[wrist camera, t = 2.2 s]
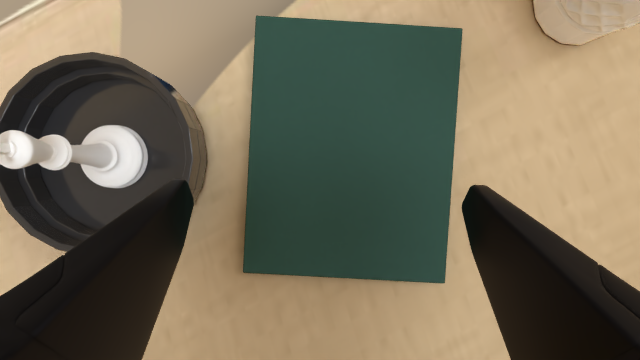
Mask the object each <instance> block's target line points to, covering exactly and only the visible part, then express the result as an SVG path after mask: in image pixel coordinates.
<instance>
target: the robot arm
mask: <svg viewBox="0 0 640 360" xmlns="http://www.w3.org/2000/svg"><path fill="white" fill-rule="evenodd" d="M193 204H194V199H193V196H192V193H191V190H190V187H189V184H188V182H187V181H186V180H185V179H172V180H170V181H168V182H167V183H166V184H164V185H163V186H161V187H160V188H158V189H157V190H155V191H154V192H153V193H151V194H150V195H148V196H147V197H145V198H144V199H143V200H141V201H140V202H138V203H137V204H135V205H134V206H133V207H131V208H130V209H128V210H127V211H125V212H124V213H122V214H121V215H120V216H118V217H117V218H115V219H114V220H112V221H111V222H110V223H108V224H107V225H105V226H104V227H102V228H101V229H99V230H98V231H97V232H95V233H94V234H92V235H91V236H89V237H88V238H87V239H85V240H84V241H82V242H81V243H79V244H78V245H76V246H75V247H74V248H72V249H71V250H69V251H68V252H66V253H65V256H64V255H62V256H61V257H59V258H58V259H56V260H55V261H53V262H52V263H50V264H49V265H48V266H46V267H45V268H43V269H42V270H40V271H39V272H37V273H36V274H34V275H33V276H31V277H30V278H28V279H27V280H25V281H24V282H22V283H20V284H19V285H17V286H16V287H14V288H13V289H11V290H9V291H8V292H6V293H5V294H3V295H1V296H0V360H142V358H143V355H144V352H145V349H146V347H147V344H148V341H149V339H150V336H151V333H152V330H153V328H154V325H155V322H156V320H157V317H158V314H159V312H160V309H161V306H162V303H163V301H164V298H165V295H166V293H167V290H168V287H169V285H170V282H171V279H172V276H173V274H174V271H175V268H176V266H177V263H178V260H179V258H180V255H181V252H182V249H183V246H184V242H185V238H186V234H187V230H188V226H189V221H190V217H191V213H192V209H193ZM462 212H463V216H464V221H465V225H466V229H467V233H468V238H469V242H470V246H471V250H472V253H473V256H474V259H475V262H476V265H477V267H478V270H479V273H480V276H481V278H482V281H483V284H484V287H485V289H486V292H487V295H488V298H489V300H490V303H491V306H492V309H493V311H494V314H495V317H496V320H497V323H498V325H499V328H500V331H501V334H502V336H503V339H504V342H505V345H506V347H507V350H508V353H509V356H510V358H511V360H640V291H638V290H637V289H635V288H634V287H632V286H631V285H629V284H628V283H626V282H625V281H623V280H622V279H620V278H619V277H617V276H616V275H614V274H613V273H612V272H610V271H609V270H607V269H606V268H604V267H603V266H601V265H598V263H597V262H596V261H594V260H593V259H591V258H590V257H588V256H587V255H586V254H584V253H583V252H581V251H580V250H578V249H577V248H575V247H574V246H573V245H571V244H570V243H568V242H567V241H565V240H564V239H562V238H561V237H560V236H558V235H557V234H555V233H554V232H552V231H551V230H549V229H548V228H547V227H545V226H544V225H542V224H541V223H539V222H538V221H536V220H535V219H534V218H532V217H531V216H529V215H528V214H526V213H525V212H524V211H522V210H521V209H519V208H518V207H516V206H515V205H513V204H512V203H511V202H509V201H508V200H506V199H505V198H503V197H502V196H500V195H499V194H498V193H496V192H495V191H493V190H492V189H490V188H489V187H487V186H485V185H473V186H471V187H470V188H469V190H468V193H467V195H466V197H465V199H464V201H463V203H462Z"/></svg>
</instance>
